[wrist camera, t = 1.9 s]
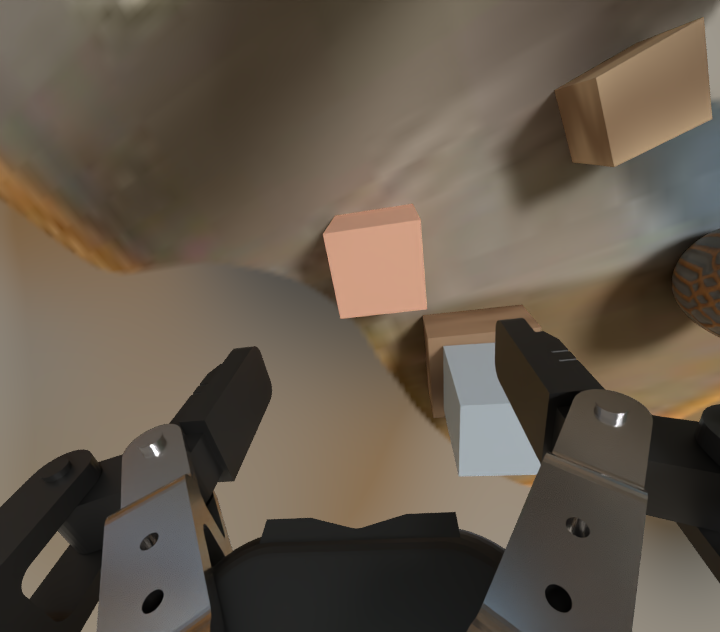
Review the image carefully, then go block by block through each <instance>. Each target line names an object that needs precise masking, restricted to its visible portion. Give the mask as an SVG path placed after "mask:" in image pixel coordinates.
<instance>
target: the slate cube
mask: <svg viewBox="0 0 720 632" xmlns="http://www.w3.org/2000/svg"><path fill="white" fill-rule="evenodd" d="M443 373H444V412H445V417H446V421H447V426H448V430H449V435H450V439H451V444H452V448H453V452H454V457H455V462H456V466H457V470H458V475H459V476H496V475H537V473H538V470H539V468H540V466H541V464H540V462H539V460H538V458H537V456H536V454H535V452H534V450H533V448H532V446H531V444H530V442H529V440H528V438H527V436H526V434H525V432H524V430H523V428H522V426H521V424H520V422H519V420H518V418H517V416H516V414H515V412H514V410H513V408H512V406H511V404H510V402H509V400H508V398H507V396H506V394H505V392H504V390H503V388H502V386H501V384H500V382H499V380H498V378H497V374H496V369H495V343H481V344H466V345H452V346H443Z"/></svg>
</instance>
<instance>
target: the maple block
mask: <svg viewBox="0 0 720 632" xmlns="http://www.w3.org/2000/svg"><path fill="white" fill-rule="evenodd" d="M554 91H555V95H556V99H557V103H558V107H559V111H560V115H561V119H562V122H563V126H564V130H565V134H566V138H567V142H568V146H569V150H570V154H571V158H572V162H573V163H583V164H592V165H601V166H610V167H615V166H617V165H619V164H621V163H623V162H625V161H627V160H629V159H631V158H633V157H636V156H638V155H640V154H642V153H644V152H646V151H648V150H650V149H652V148H654V147H656V146H658V145H660V144H662V143H664V142H666V141H668V140H670V139H672V138H674V137H676V136H678V135H680V134H682V133H684V132H687V131H689V130H691V129H693V128H695V127H697V126H699V125H701V124H703V123H705V122H707V121H709V120H711V119H712V111H711V99H710V87H709V75H708V63H707V51H706V39H705V26H704V17H702V18H699V19H697V20H694V21H692V22H689V23H687V24H684V25H681V26H679V27H676V28H674V29H671V30H669V31H666V32H663V33H661V34H658V35H656V36H653V37H651V38H648V39H646V40H643V41H640V42H638V43H636V44H634V45H632V46H631V47H629V48H627V49H625V50H624V51H622V52H620V53H618V54H617V55H615V56H613V57H611V58H610V59H608V60H606V61H604V62H603V63H601V64H599V65H598V66H596V67H594V68H592V69H591V70H589V71H587V72H585V73H584V74H582V75H580V76H578V77H577V78H575V79H573V80H572V81H570V82H568V83H566V84H565V85H563V86H561V87H559V88H558V89H556V90H554Z"/></svg>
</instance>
